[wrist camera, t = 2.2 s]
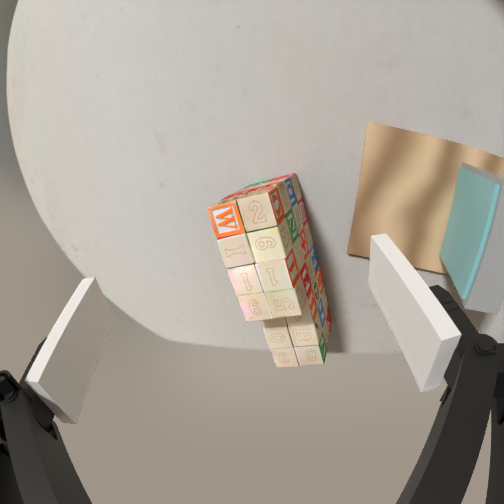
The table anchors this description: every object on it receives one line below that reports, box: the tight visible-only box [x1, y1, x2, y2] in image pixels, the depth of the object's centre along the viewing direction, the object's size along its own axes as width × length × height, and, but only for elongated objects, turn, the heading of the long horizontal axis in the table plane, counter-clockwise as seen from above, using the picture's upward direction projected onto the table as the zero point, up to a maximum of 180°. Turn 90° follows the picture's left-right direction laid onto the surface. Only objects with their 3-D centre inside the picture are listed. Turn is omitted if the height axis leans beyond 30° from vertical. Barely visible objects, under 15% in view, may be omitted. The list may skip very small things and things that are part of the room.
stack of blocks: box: [207, 173, 331, 367], centre depth 36 cm, size 21×6×12 cm, turn 18°
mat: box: [347, 122, 504, 274], centre depth 32 cm, size 18×16×1 cm
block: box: [439, 162, 504, 315], centre depth 26 cm, size 4×12×12 cm, turn 176°
